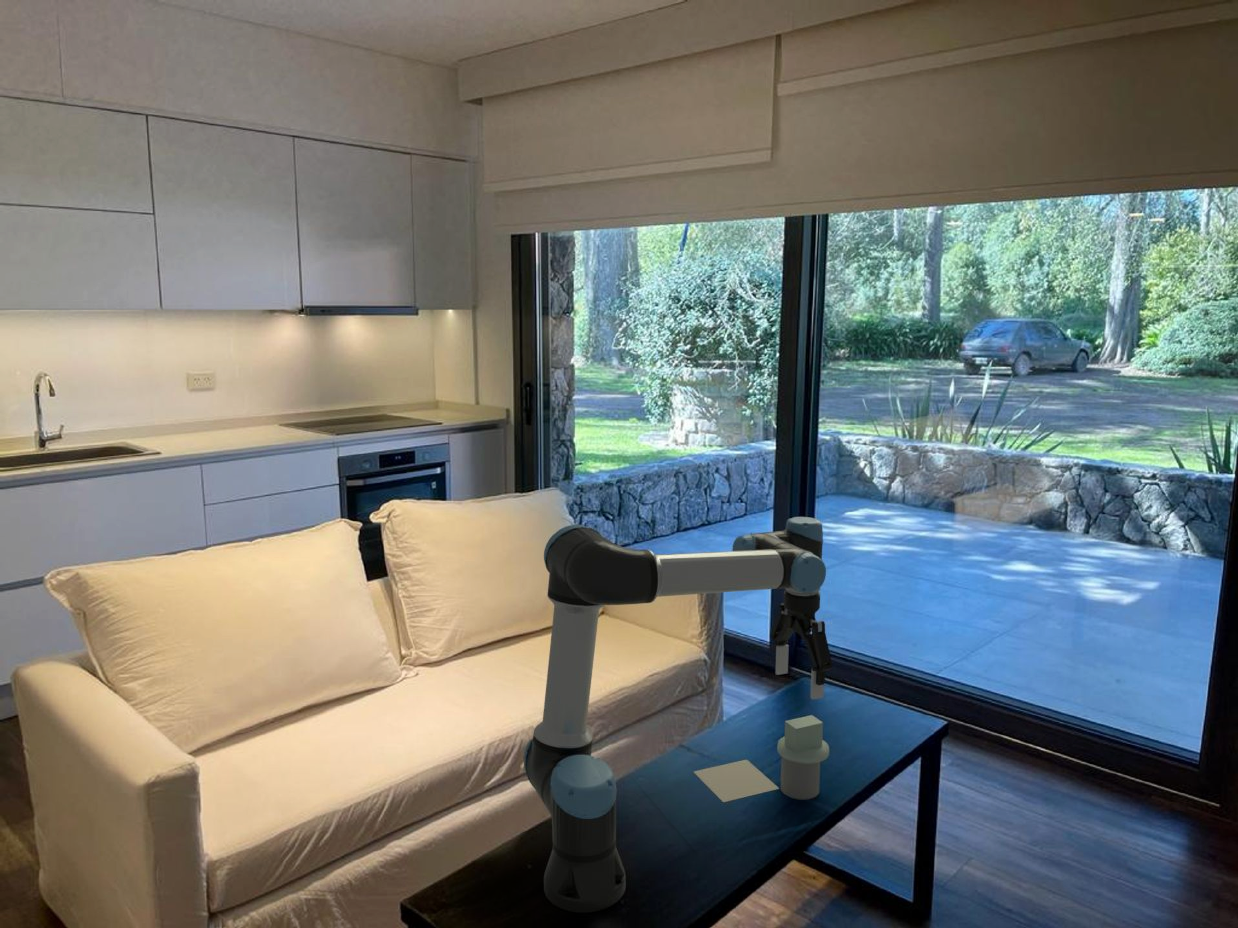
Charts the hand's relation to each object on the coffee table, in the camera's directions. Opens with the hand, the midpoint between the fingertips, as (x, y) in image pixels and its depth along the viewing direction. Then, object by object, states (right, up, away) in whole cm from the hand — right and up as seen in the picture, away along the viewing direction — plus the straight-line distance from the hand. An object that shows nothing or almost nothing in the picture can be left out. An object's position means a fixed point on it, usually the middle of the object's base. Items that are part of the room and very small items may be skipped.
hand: (798, 685), depth 200 cm
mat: (-13, -24, +8) cm, 28 cm away
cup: (+1, -25, +4) cm, 25 cm away
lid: (+1, -15, +2) cm, 15 cm away
